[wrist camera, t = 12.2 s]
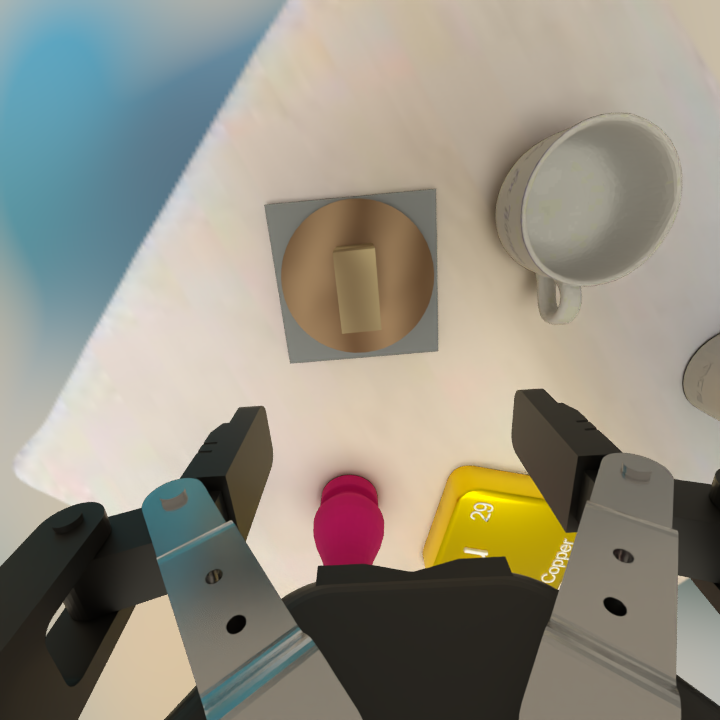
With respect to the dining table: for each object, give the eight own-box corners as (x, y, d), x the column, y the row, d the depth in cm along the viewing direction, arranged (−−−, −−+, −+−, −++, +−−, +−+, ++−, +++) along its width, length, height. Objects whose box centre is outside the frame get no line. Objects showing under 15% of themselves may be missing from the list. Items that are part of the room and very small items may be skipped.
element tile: (532, 577, 49) (550, 613, 45) (417, 560, 48) (424, 596, 43) (580, 481, 44) (605, 512, 39) (452, 460, 43) (463, 489, 38)
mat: (433, 189, 32) (435, 188, 31) (436, 347, 37) (438, 351, 36) (267, 205, 33) (264, 204, 32) (291, 359, 38) (290, 363, 37)
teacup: (514, 116, 30) (566, 86, 23) (637, 158, 32) (724, 141, 24) (453, 287, 35) (479, 308, 28) (561, 318, 36) (614, 346, 29)
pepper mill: (385, 472, 43) (407, 678, 24) (377, 524, 45) (392, 745, 26) (319, 468, 42) (289, 671, 24) (315, 519, 45) (286, 740, 26)
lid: (429, 190, 31) (445, 186, 26) (434, 342, 36) (448, 366, 30) (271, 207, 32) (252, 206, 26) (295, 355, 36) (284, 381, 31)
